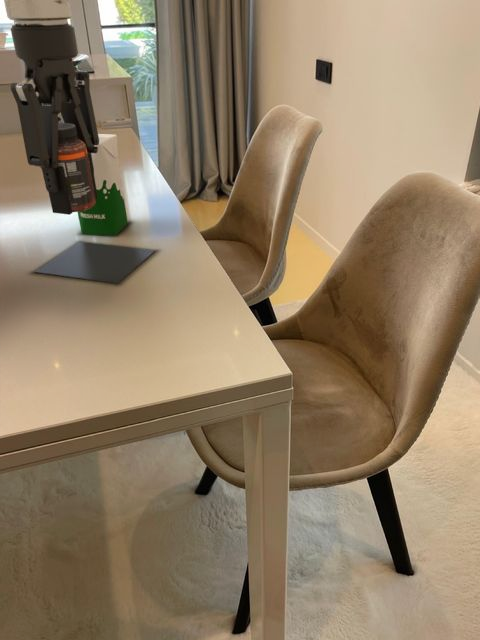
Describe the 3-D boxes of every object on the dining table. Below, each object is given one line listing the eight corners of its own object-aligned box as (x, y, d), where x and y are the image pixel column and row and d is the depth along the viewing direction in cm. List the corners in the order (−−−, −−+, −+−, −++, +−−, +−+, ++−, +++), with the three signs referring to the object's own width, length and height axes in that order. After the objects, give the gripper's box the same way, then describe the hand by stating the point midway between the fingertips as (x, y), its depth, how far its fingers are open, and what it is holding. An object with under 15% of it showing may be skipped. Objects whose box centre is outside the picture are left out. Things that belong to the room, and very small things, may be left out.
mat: (35, 275, 96) (34, 271, 96) (79, 244, 107) (79, 241, 107) (118, 286, 92) (117, 283, 92) (155, 253, 103) (155, 250, 103)
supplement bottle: (76, 198, 85) (62, 119, 79) (104, 204, 83) (92, 124, 77) (45, 209, 81) (27, 126, 75) (74, 216, 78) (58, 132, 72)
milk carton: (75, 237, 110) (54, 130, 99) (95, 221, 118) (76, 120, 107) (117, 239, 109) (100, 132, 98) (134, 223, 116) (120, 121, 105)
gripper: (16, 27, 61) (59, 231, 73) (108, 19, 76) (131, 189, 88) (-40, 26, 62) (11, 224, 75) (61, 18, 78) (89, 184, 90)
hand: (76, 205), depth 82 cm, fingers closed on supplement bottle, 6 cm apart
